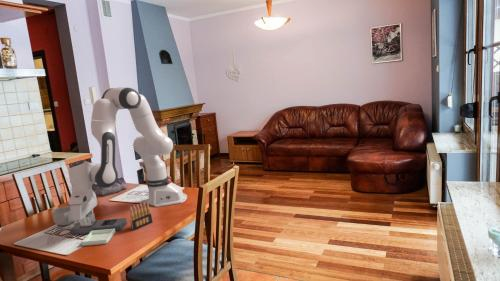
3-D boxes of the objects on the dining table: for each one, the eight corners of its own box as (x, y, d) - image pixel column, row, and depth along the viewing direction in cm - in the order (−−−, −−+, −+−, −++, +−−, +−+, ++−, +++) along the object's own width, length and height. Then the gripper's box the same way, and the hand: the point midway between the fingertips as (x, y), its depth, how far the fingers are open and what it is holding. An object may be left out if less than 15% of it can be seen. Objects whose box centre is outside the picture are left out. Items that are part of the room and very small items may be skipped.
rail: (126, 223, 169) (126, 217, 169) (121, 230, 161) (120, 224, 161) (78, 227, 168) (77, 222, 168) (71, 235, 161) (70, 229, 160)
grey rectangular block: (96, 227, 167) (93, 211, 166) (92, 232, 162) (89, 215, 161) (86, 228, 167) (83, 212, 166) (82, 233, 162) (78, 216, 161)
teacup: (56, 221, 178) (53, 207, 177) (78, 217, 182) (76, 203, 181) (52, 232, 166) (49, 217, 164) (77, 226, 170) (74, 212, 168)
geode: (122, 186, 232) (121, 172, 230) (129, 191, 225) (129, 177, 222) (91, 193, 218) (90, 179, 216) (99, 199, 210) (97, 185, 208)
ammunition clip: (133, 230, 160) (129, 207, 158) (131, 230, 161) (127, 206, 159) (152, 222, 168) (149, 199, 166) (150, 221, 169) (147, 199, 167)
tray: (115, 232, 160) (114, 228, 160) (106, 243, 149) (106, 239, 149) (92, 234, 160) (91, 230, 159) (81, 246, 149) (81, 242, 148)
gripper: (85, 188, 171) (90, 213, 174) (66, 202, 151) (71, 231, 154) (98, 186, 172) (102, 212, 174) (80, 201, 151) (85, 230, 154)
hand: (87, 221), depth 164 cm, fingers closed on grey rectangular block, 5 cm apart
